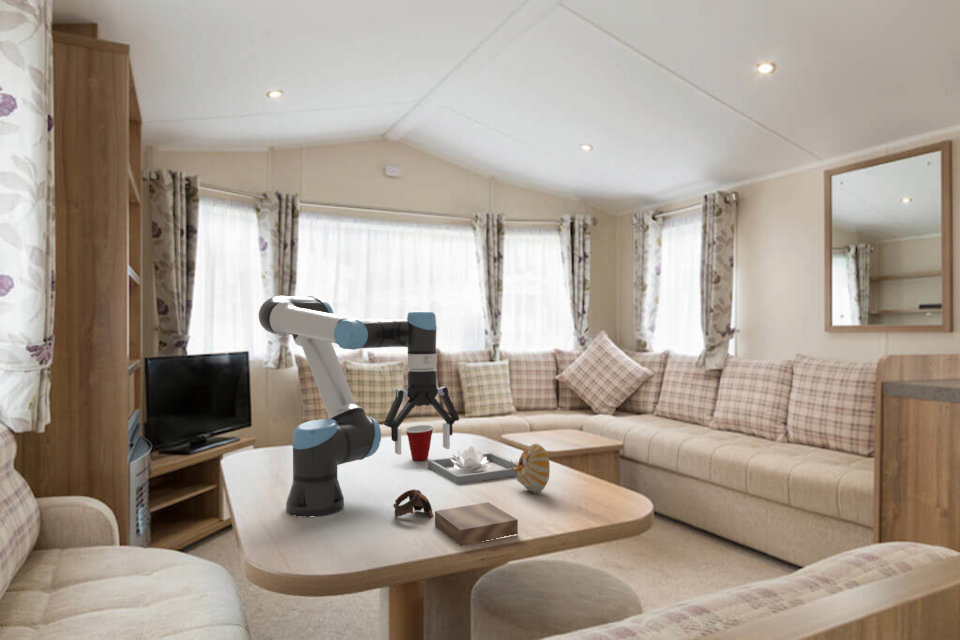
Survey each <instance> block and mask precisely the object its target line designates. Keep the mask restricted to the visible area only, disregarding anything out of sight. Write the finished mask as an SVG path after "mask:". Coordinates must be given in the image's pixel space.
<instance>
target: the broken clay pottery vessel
mask: <svg viewBox="0 0 960 640" xmlns="http://www.w3.org/2000/svg"><path fill="white" fill-rule="evenodd" d="M406 499H409V500H408V501H407V502H405V503H404V504H401V503H402V502H404V501H405V500H406ZM394 501H395V503H394V504H393V508H394V517H395V518H397V517H402V516H404V515H407V514H412V515H414V511H417V512H418V511H419V512H421V511H422V510H423V512H424V514H425V513H426V514H428V515H429V517H430V518H429V519H433V518H434V513H433V509H432V505H431V503H430V501H429V499H428V498H427V496H426V495H425V494H423V493H422V492H421V490H419V489H409V490H406V491H405V492H403V493H402V494H400V495H399V496H398V497H397V498H396V499H395V500H394ZM400 504H401V505H400Z"/></svg>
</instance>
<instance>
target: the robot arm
mask: <svg viewBox="0 0 960 640" xmlns="http://www.w3.org/2000/svg"><path fill="white" fill-rule="evenodd" d="M258 320H259V323H260V326H261V327H262V328H263V329H264V330H265V331H266V332H269V333H271V334H275V335H281V336H286V335H291V336H292V338H293V341H294V344H295V345H296V346H299V347H301V348H302V349H303V350H302V351H303V353H304V355H305V358H306V361H307V363H308V366H309V369H310V371H311V375H312V376H313V379H314V383H315V384H316V386H317V390H318V392H319V395H320V398H321V400H322V403H323V405H324V409H325V411H326V414H327V417H328V418H321V419H313V420H308V421H306V422H302V423H300V424H298V425H297V426H296V427H295V428H294V430H293V434H292V443H291V445H292V446H291V447H292V484H291V488H290V490H289V494H288V497H287V499H286V503H285V507H286V508H285V512H286V511H287V512H286V513H287V514H288V513H289V514H288V515H290V514H291V515H290V516H293V515H296V516H295V517H298V516H320V517H325V515H326V516H329V514H330V515H333V514H336V513H339V512H341V511H342V510H343V509H344V507H345V498H344V495H343V492H342V489H341V488H342V487H341V486H340V482H339V480H338V466H339V465H342V464H343V465H344V464H347V463H351V462H355V461H361V460H364V459H366V458H369V457H371V456H373V455H374V454H375V453H377V451H378V450H379V448H380V444H381V441H382V431H381V426H380V424H379V422H378V421H377V420H376V419H375V418H374V417H372V416H368V415H367V414H366V412H365V409H364V408H363V407H362V406H360V405H357V403H356V401H355V398H354V396H353V393H352V391H351V389H350V386H349V385H350V384H348V381H347V378H346V376H345V373H344V371H343V368H342V365H341V364H340V360H339V358H338V356H337V353H336V351H335V348H334V346H333V344H336V345H338V347H340V348H341V349H343V350H354V351H356V350H358V349H372V348H373V349H374V348H376V349H377V348H379V349H381V348H396V347H397V348H399V347H401V348H407V369H409V370H408V372H407V389H406V390H405V389H398V388H397V389H396V391H395V398H394V399H393V403H391V404H392V405H391V407H390V408H389V409H390V410H389V411H388V413H387V416H386V418H385V419H384V422H383V424H384V426H385V427H388V428H390V429H391V432H390V433H391V436H390V437H391V440H392V442H394V453H395V454H397V455H400V456H401V455H402V428H400V426H401V425H402V423H403V422H404V421H405V419H406V418H407V416H408V415H409V414H410V412H411V411H412V409H414V408H415V407H416V406H417V407H422V406H432V407H433V408H434V410H435V411H436V412H437V413H438V414H439V415H440V416H441V418H442V420H444V421H445V422H443V423H442V447H443V448H444V449H445V450H450V448H451V447H450V445H451V443H450V440H451V439H450V438H451V436H453V425H454V424H455V422H458V421H459V420H460V416H459V414H458V412H457V410H456V409H455V406H454V404H453V401H452V400H451V398H450V396H449V389H448V387H446V386H440V387H437V371H436V370H435V369H436V368H437V330H438V329H437V328H438V327H437V318H436V314H435V312H434V311H409V312H407V318H406V319H398V318H397V319H395V318H383V319H380V318H379V319H378V318H377V319H372V318H371V319H365V318H364V319H363V318H357V317H356V318H355V317H350V316H344V315H340V314H339V315H338V314H334V311H333V308H332V307H331V305H330V303H329V302H328V301H327V300H325V299H324V298H321V297H316V296H310V295H307V296H295V295H294V296H291V295H287V296H286V295H276V296H272V297H270V298H268V299H267V300H265V301H264V302H263V303H262V304H261V306H260V308H259V311H258ZM437 395H439V396H440V397H441V399H442V401H443V403H444V405H445V407H446V410H447V412H448V413H447V412H446V410H445V409H444V408H443V406H442V405H441V404H440V403H439V401H438V400H437V399H436V397H437ZM406 396H407V397H408V399H407V401H406V403H405V405H404V406H403V407H402V409H401V410H400V407H401V405H402V402H403V400H404V399H405V398H406ZM399 410H400V411H399Z"/></svg>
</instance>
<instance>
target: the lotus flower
mask: <svg viewBox="0 0 960 640" xmlns="http://www.w3.org/2000/svg"><path fill="white" fill-rule="evenodd" d="M483 454H484V453H483V452H482V451H481V450H477V449H476V448H475V447H474V446H473V445H471V446H469V448H468V449H467V450H466V449H465V450H463V451H462V452H461V451H460V450H459V449H457V455H458V456H455V454H454V453H453V454H452V457H454V458H455V459H456V460H457V462H456V461H455V460H453V459H450V460H451V461H452V462H453V463H454V465H453V467H451V468H450V467H449V468H448V469H449V470H450V471H452V472H454V473H456V474H458V475H465V474H473V473H480V472H486V471H487V470H489V469H491V467H492V466H493V465H492V464H488V463H489V462H490V461H487V457H484V456H483ZM457 457H459V459H460V460H459V459H458V458H457Z"/></svg>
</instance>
